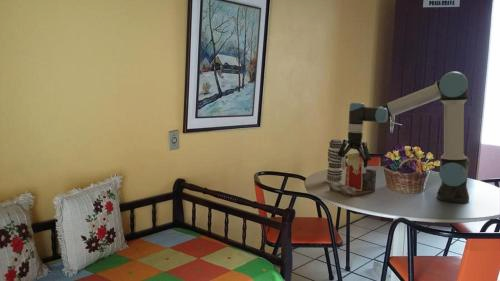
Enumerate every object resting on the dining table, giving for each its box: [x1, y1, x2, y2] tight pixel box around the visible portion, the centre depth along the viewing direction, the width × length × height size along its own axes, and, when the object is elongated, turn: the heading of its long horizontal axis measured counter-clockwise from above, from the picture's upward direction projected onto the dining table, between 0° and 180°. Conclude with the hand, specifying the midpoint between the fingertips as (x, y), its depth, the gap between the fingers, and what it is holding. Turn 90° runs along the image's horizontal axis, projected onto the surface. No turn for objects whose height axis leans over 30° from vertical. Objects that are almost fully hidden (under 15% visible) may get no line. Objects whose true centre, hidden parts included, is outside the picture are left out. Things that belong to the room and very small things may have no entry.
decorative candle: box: [326, 138, 343, 184], centre depth 253 cm, size 9×9×25 cm
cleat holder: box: [328, 166, 377, 198], centre depth 233 cm, size 16×19×12 cm
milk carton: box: [344, 152, 362, 191], centre depth 232 cm, size 9×9×20 cm
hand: (353, 170), depth 233 cm, fingers open, 13 cm apart
